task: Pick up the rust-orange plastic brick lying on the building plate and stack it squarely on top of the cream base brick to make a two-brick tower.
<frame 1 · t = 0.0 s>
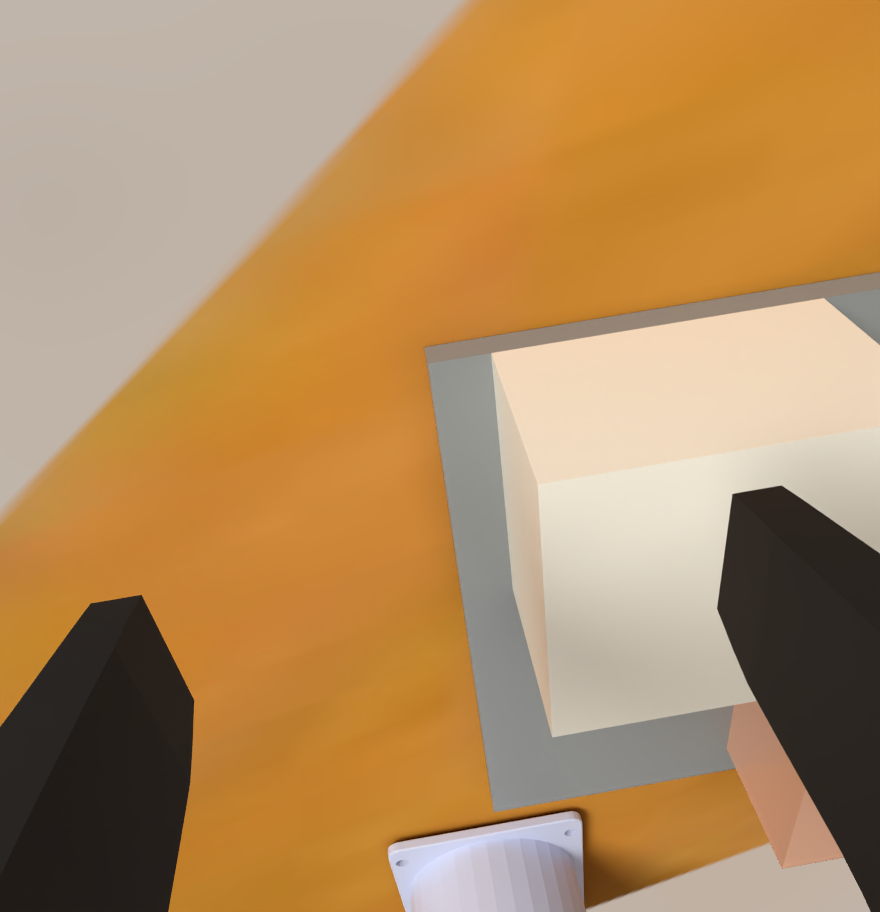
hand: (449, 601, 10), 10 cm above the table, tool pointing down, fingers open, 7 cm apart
building plate: (696, 582, 25), on the table
cream base brick: (651, 459, 21), resting on building plate
orange brick: (801, 696, 28), point 1 cm above the table, touching building plate
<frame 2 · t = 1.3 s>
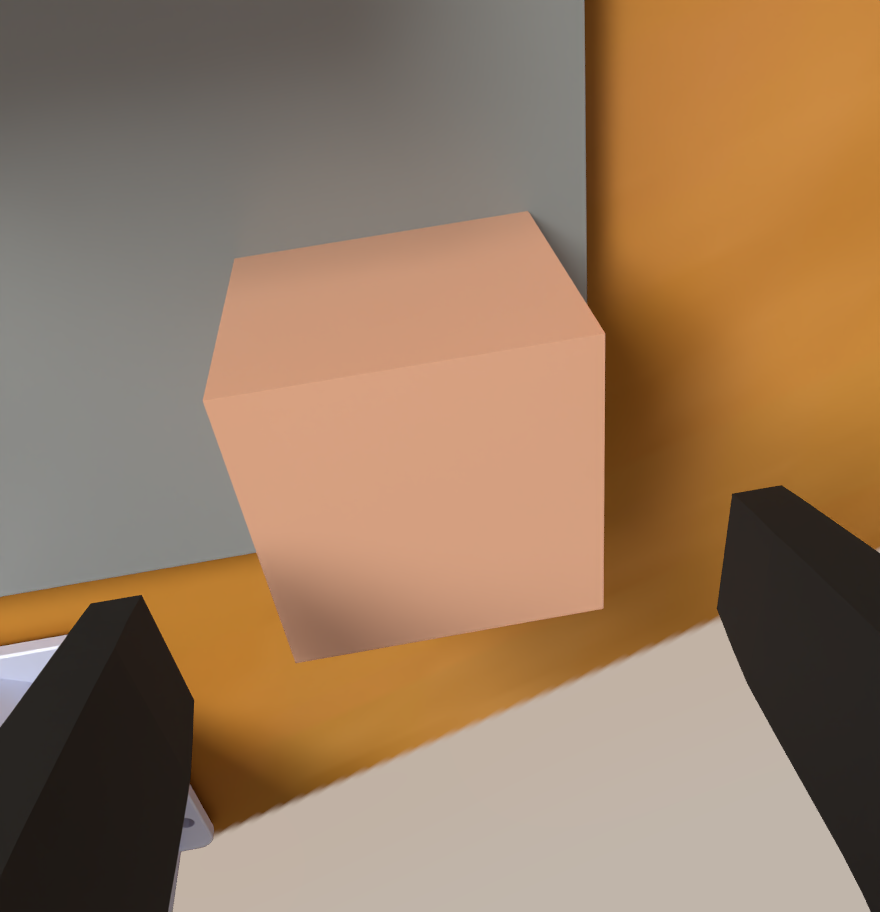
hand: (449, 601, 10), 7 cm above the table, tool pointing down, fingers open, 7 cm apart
building plate: (74, 31, 12), on the table
orange brick: (403, 363, 15), point 1 cm above the table, touching building plate
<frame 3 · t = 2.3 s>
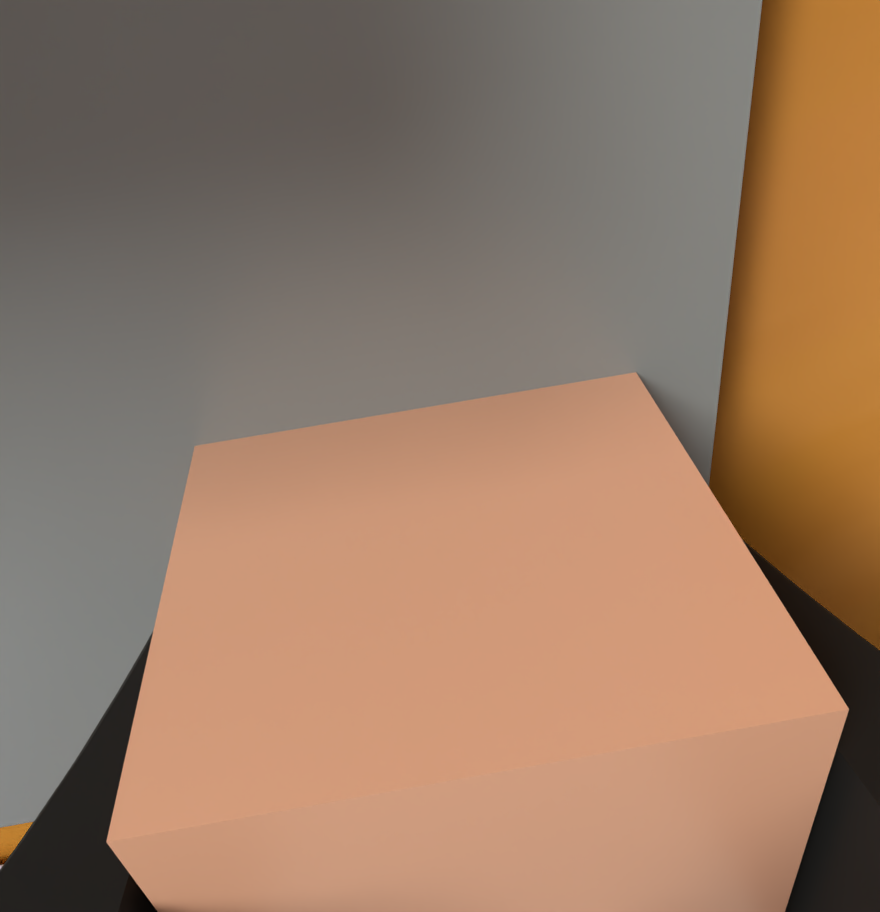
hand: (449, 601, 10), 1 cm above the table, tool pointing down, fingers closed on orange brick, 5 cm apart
orange brick: (442, 567, 10), point 1 cm above the table, touching building plate, gripper
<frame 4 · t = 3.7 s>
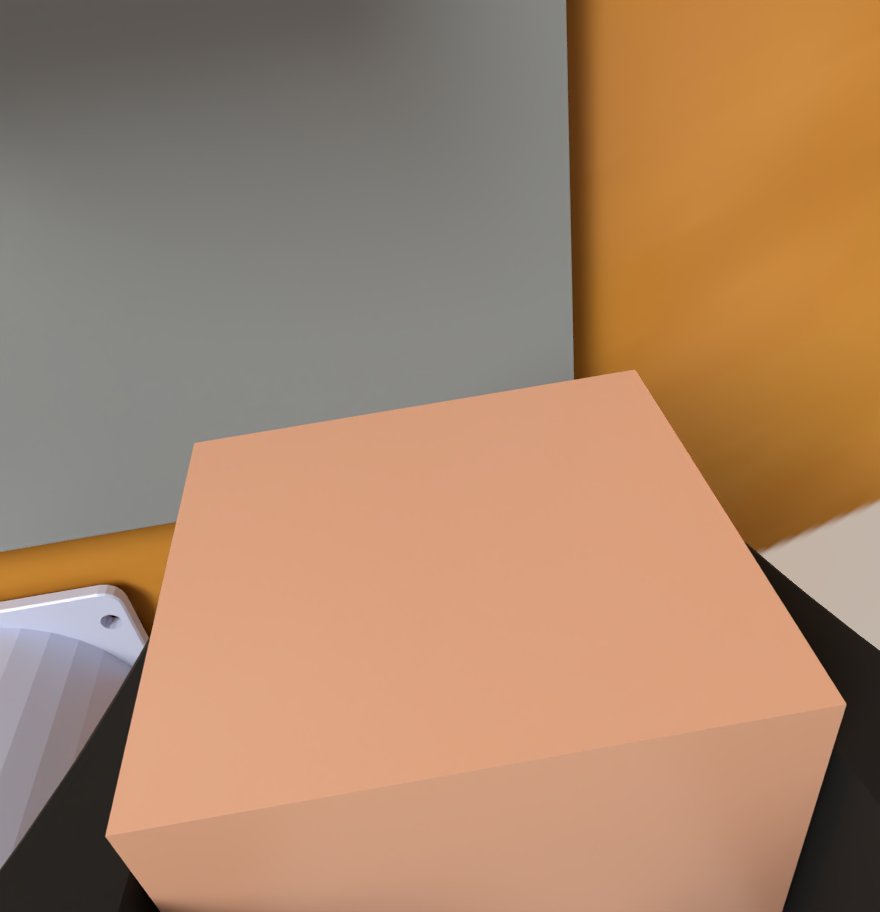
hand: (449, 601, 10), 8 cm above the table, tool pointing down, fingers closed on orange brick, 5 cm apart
building plate: (101, 15, 13), on the table
orange brick: (442, 564, 10), point 8 cm above the table, touching gripper
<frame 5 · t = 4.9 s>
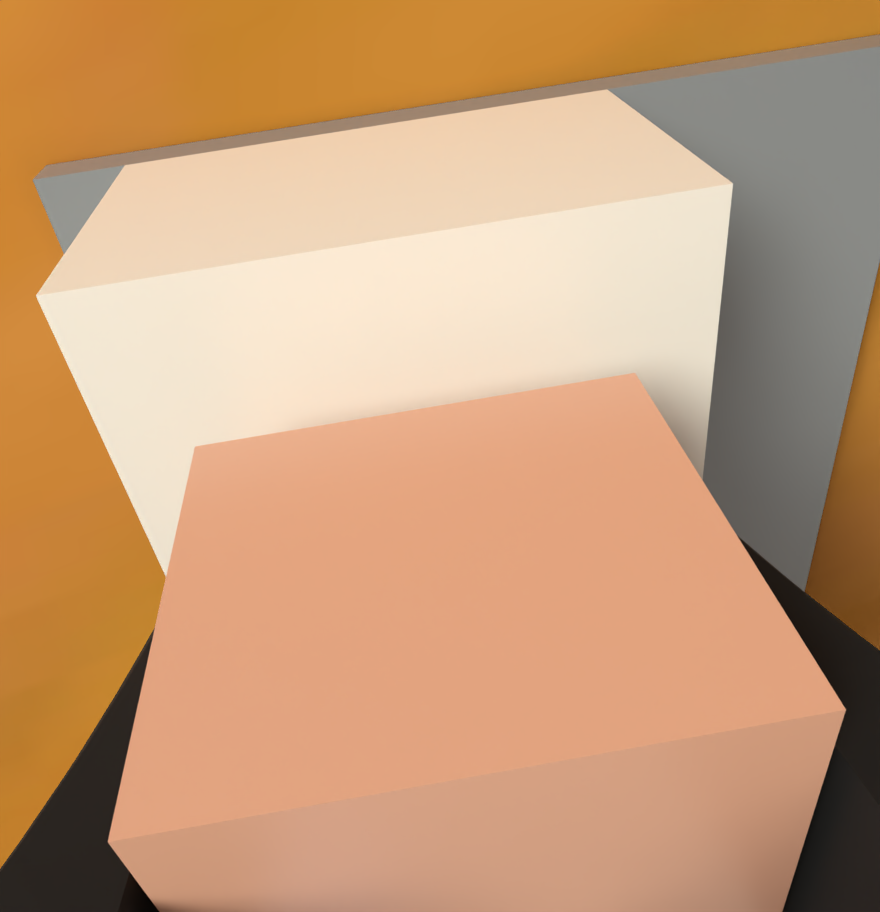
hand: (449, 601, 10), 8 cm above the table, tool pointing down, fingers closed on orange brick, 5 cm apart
building plate: (515, 525, 20), on the table
cream base brick: (403, 341, 15), resting on building plate
orange brick: (442, 567, 10), point 7 cm above the table, touching gripper
when the fingers open (8 cm above the table, at t = 5.4 s): orange brick drops 1 cm, resting on cream base brick.
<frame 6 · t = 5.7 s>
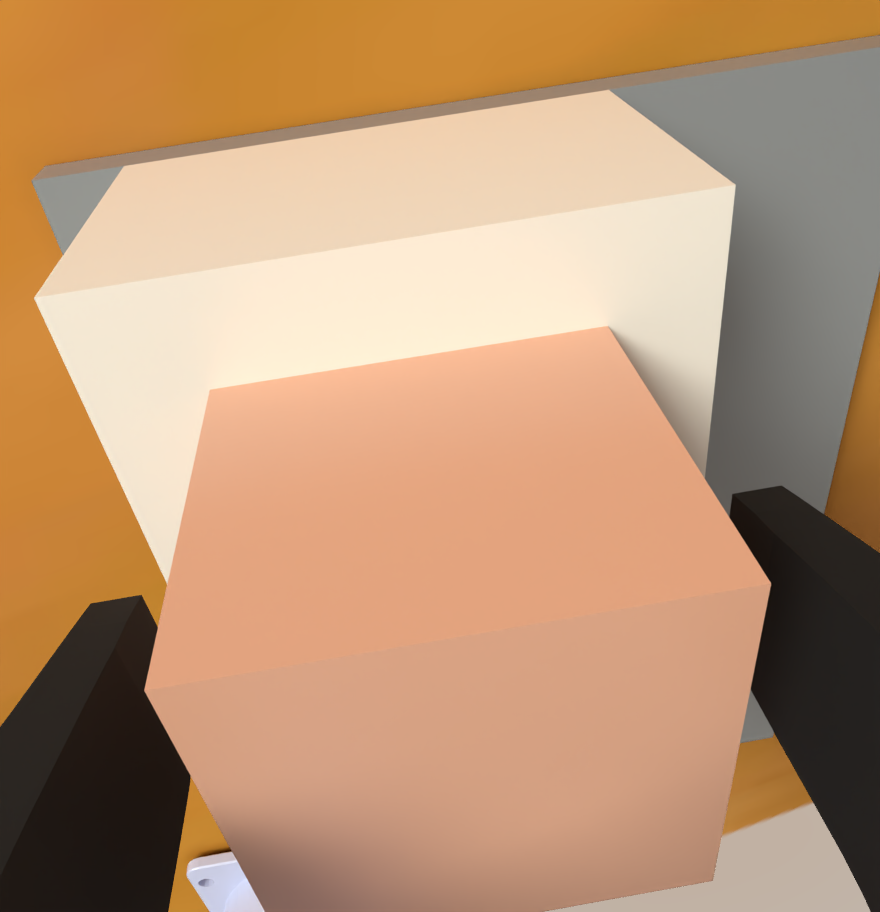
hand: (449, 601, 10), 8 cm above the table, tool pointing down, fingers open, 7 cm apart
building plate: (516, 527, 20), on the table
cream base brick: (403, 342, 15), resting on building plate
orange brick: (433, 509, 11), point 6 cm above the table, touching cream base brick
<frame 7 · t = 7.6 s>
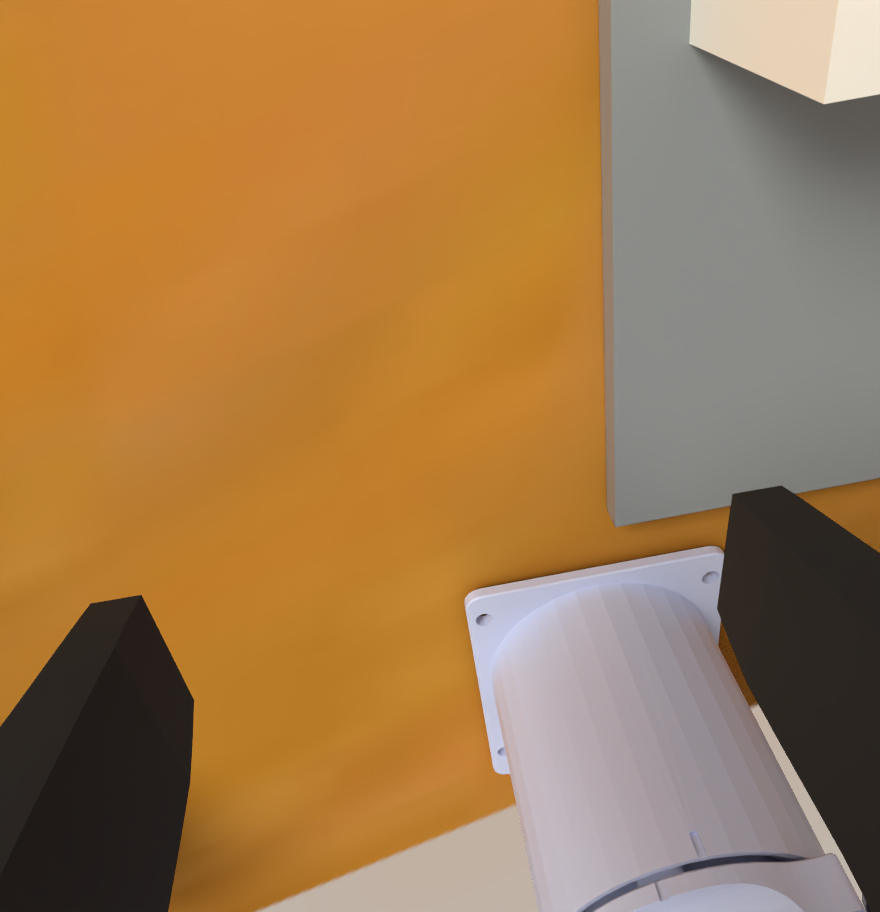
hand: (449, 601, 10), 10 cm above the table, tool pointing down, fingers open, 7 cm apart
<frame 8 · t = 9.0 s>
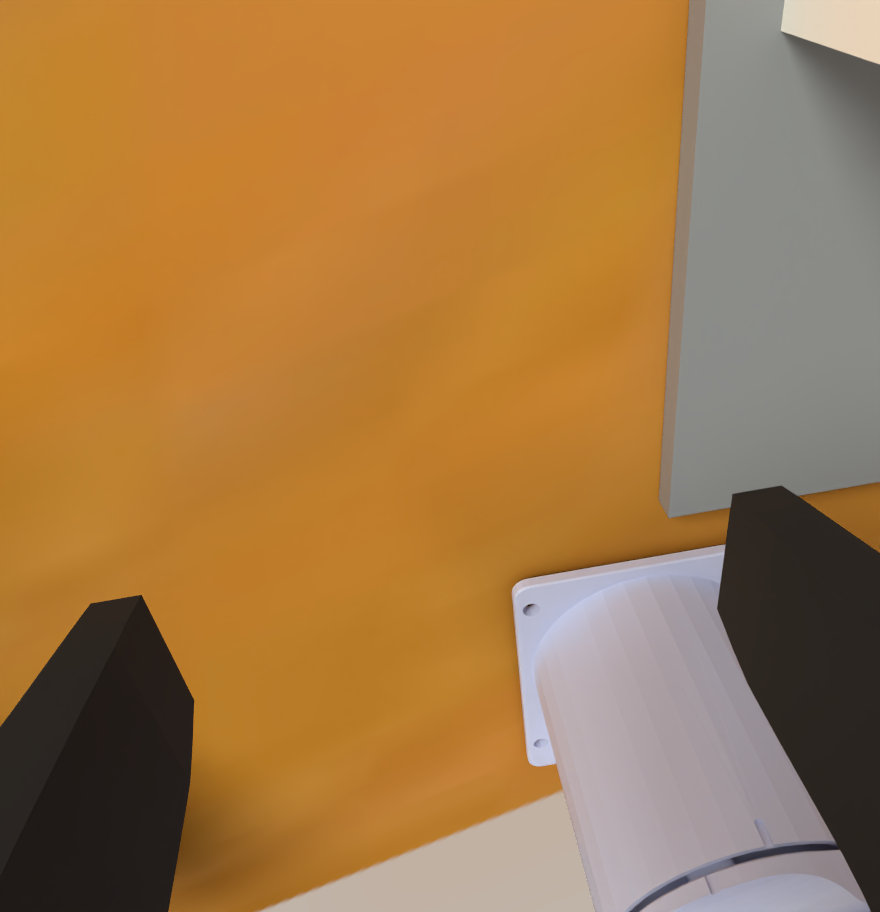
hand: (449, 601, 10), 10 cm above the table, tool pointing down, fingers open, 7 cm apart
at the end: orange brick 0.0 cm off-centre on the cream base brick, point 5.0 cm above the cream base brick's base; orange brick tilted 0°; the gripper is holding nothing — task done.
